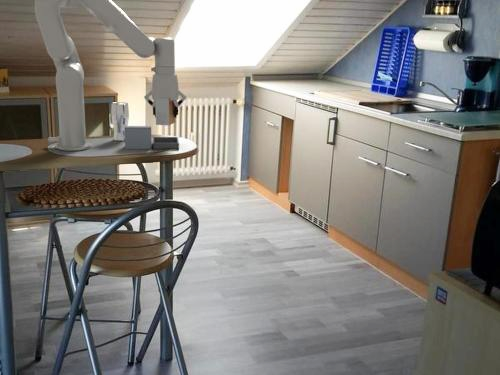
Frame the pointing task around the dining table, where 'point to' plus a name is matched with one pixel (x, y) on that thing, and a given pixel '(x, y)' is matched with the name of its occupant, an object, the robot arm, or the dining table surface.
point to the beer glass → (119, 119)
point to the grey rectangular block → (138, 137)
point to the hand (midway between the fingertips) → (165, 116)
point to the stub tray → (165, 143)
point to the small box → (164, 111)
